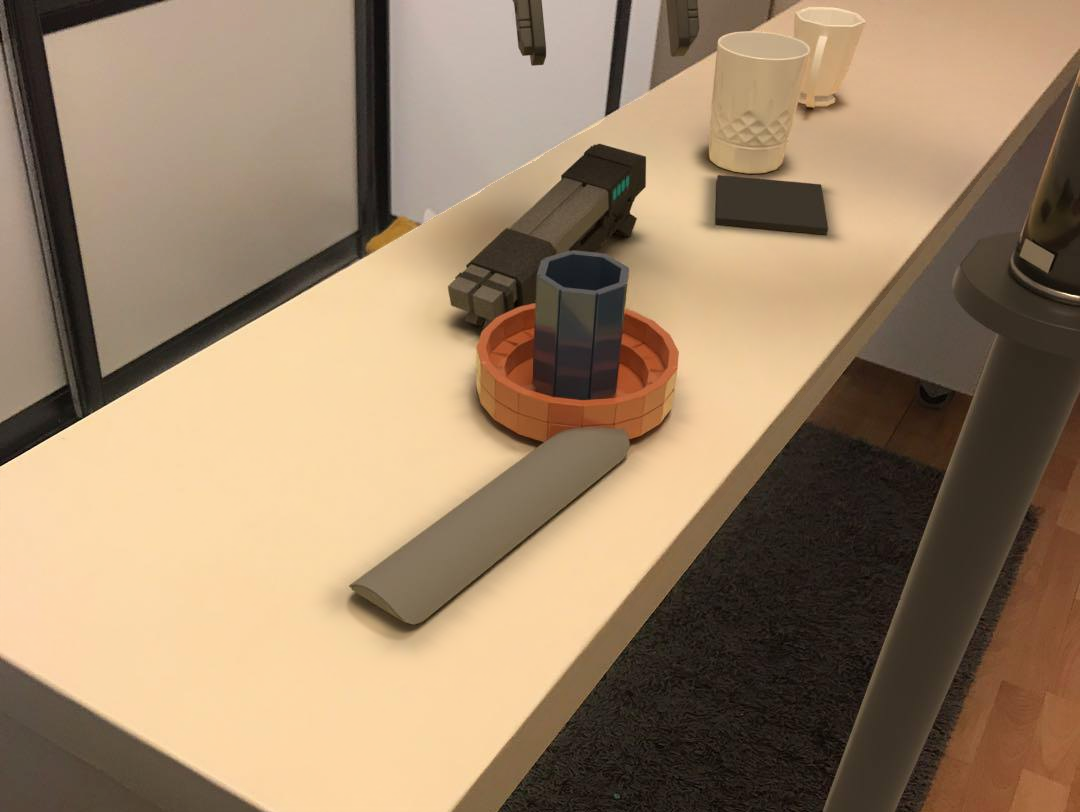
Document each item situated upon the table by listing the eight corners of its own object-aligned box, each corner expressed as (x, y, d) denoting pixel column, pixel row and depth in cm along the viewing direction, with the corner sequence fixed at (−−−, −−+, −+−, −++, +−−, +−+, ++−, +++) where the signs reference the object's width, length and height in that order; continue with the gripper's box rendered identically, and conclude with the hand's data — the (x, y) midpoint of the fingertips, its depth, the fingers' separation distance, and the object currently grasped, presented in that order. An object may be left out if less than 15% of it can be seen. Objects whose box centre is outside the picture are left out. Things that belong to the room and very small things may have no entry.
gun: (654, 228, 85) (646, 120, 76) (520, 405, 77) (496, 306, 69) (605, 213, 86) (592, 106, 78) (470, 384, 79) (440, 286, 70)
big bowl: (675, 357, 71) (682, 310, 69) (666, 465, 62) (674, 415, 60) (495, 338, 72) (495, 291, 70) (460, 442, 63) (460, 392, 61)
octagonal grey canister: (619, 371, 68) (631, 255, 63) (612, 416, 64) (625, 297, 59) (539, 362, 69) (545, 247, 64) (528, 407, 65) (532, 288, 60)
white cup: (695, 169, 95) (711, 52, 89) (708, 139, 101) (724, 26, 95) (783, 182, 94) (806, 64, 88) (792, 150, 100) (814, 37, 93)
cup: (850, 93, 113) (869, 11, 107) (840, 125, 106) (859, 38, 100) (784, 84, 114) (799, 2, 109) (770, 114, 107) (785, 28, 102)
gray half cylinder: (342, 597, 52) (339, 570, 51) (576, 424, 64) (577, 399, 63) (405, 637, 51) (404, 610, 49) (634, 451, 62) (637, 426, 61)
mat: (819, 190, 93) (821, 184, 93) (826, 235, 86) (828, 228, 86) (716, 181, 94) (717, 174, 93) (715, 224, 87) (716, 217, 87)
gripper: (463, -276, 57) (495, 42, 58) (723, -285, 58) (746, 25, 60) (458, -194, 64) (487, 85, 66) (689, -204, 65) (711, 70, 67)
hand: (610, 56), depth 63 cm, fingers open, 8 cm apart
